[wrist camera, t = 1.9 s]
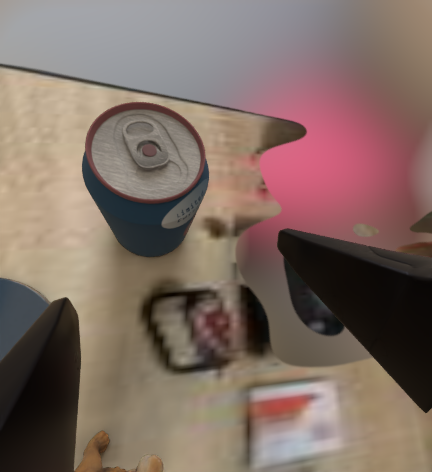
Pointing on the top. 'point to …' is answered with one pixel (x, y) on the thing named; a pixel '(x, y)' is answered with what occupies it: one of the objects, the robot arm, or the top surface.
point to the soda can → (145, 175)
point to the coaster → (17, 312)
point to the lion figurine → (92, 468)
